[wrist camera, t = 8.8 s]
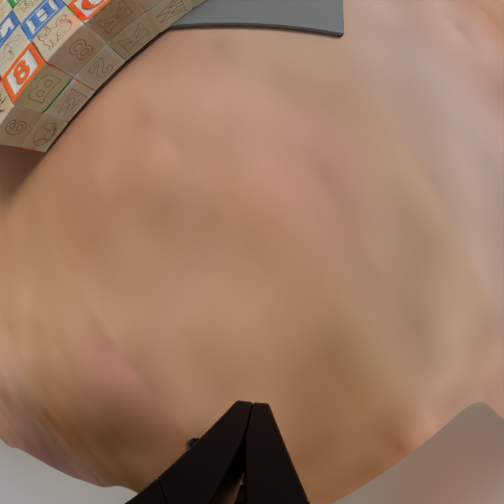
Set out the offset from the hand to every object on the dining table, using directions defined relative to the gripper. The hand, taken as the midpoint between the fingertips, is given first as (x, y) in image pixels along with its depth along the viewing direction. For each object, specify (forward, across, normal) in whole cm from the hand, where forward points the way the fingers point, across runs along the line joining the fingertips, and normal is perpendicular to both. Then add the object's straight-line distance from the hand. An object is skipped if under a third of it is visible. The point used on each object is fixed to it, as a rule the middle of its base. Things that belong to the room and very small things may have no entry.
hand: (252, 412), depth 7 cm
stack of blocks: (+10, +9, -15) cm, 20 cm away
